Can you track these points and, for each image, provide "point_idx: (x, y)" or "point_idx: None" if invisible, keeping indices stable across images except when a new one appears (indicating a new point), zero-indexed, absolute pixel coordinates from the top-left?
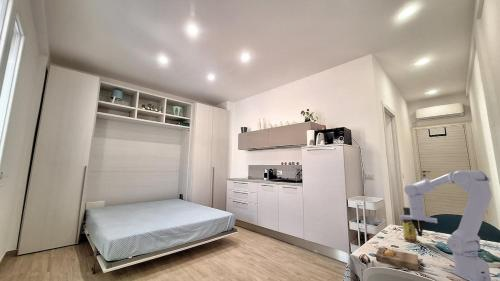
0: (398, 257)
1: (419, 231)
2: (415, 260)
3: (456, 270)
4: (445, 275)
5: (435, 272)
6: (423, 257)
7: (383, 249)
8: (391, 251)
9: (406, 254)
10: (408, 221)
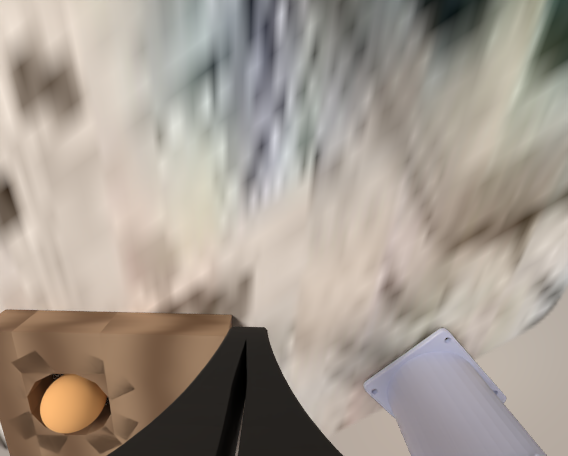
0: (131, 436)
1: (240, 400)
2: None
3: (392, 409)
4: (335, 425)
5: None
6: (259, 244)
7: (14, 356)
8: (75, 421)
9: (164, 366)
10: None
